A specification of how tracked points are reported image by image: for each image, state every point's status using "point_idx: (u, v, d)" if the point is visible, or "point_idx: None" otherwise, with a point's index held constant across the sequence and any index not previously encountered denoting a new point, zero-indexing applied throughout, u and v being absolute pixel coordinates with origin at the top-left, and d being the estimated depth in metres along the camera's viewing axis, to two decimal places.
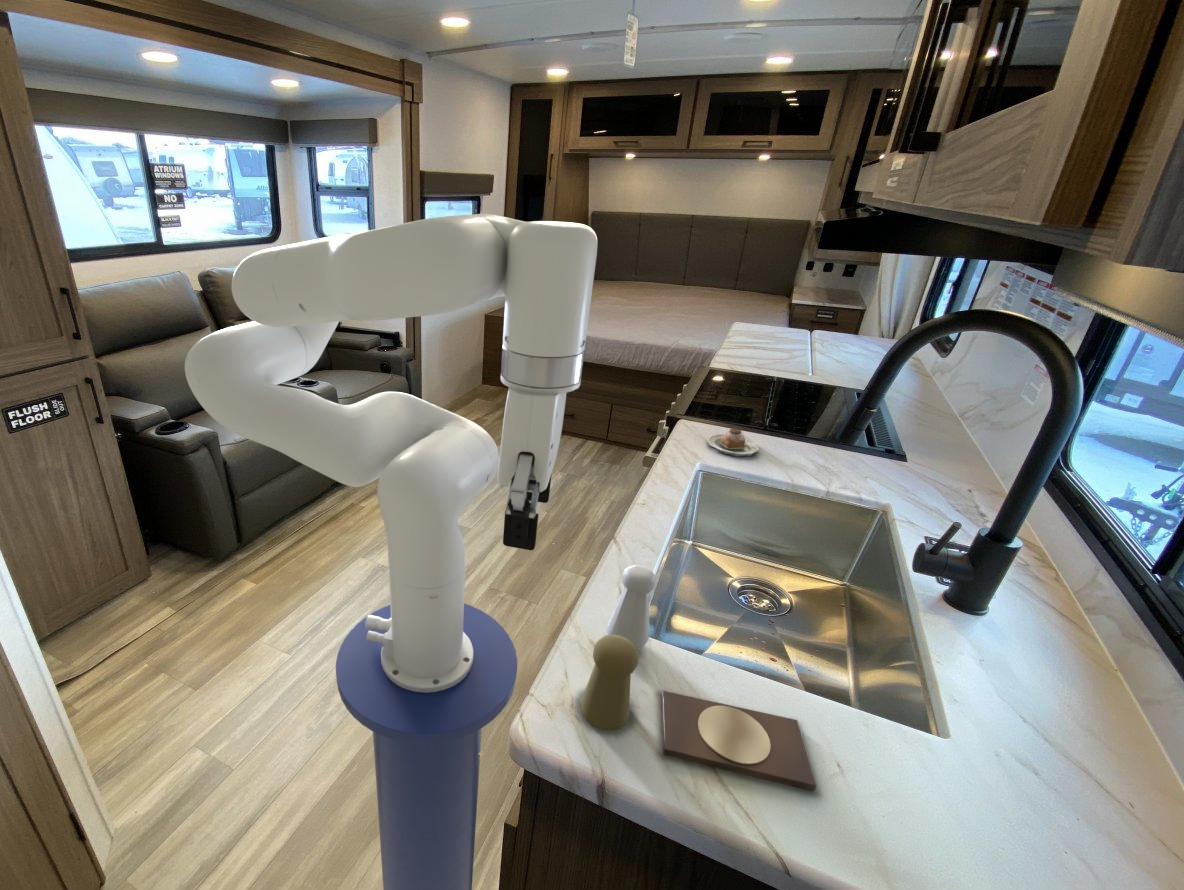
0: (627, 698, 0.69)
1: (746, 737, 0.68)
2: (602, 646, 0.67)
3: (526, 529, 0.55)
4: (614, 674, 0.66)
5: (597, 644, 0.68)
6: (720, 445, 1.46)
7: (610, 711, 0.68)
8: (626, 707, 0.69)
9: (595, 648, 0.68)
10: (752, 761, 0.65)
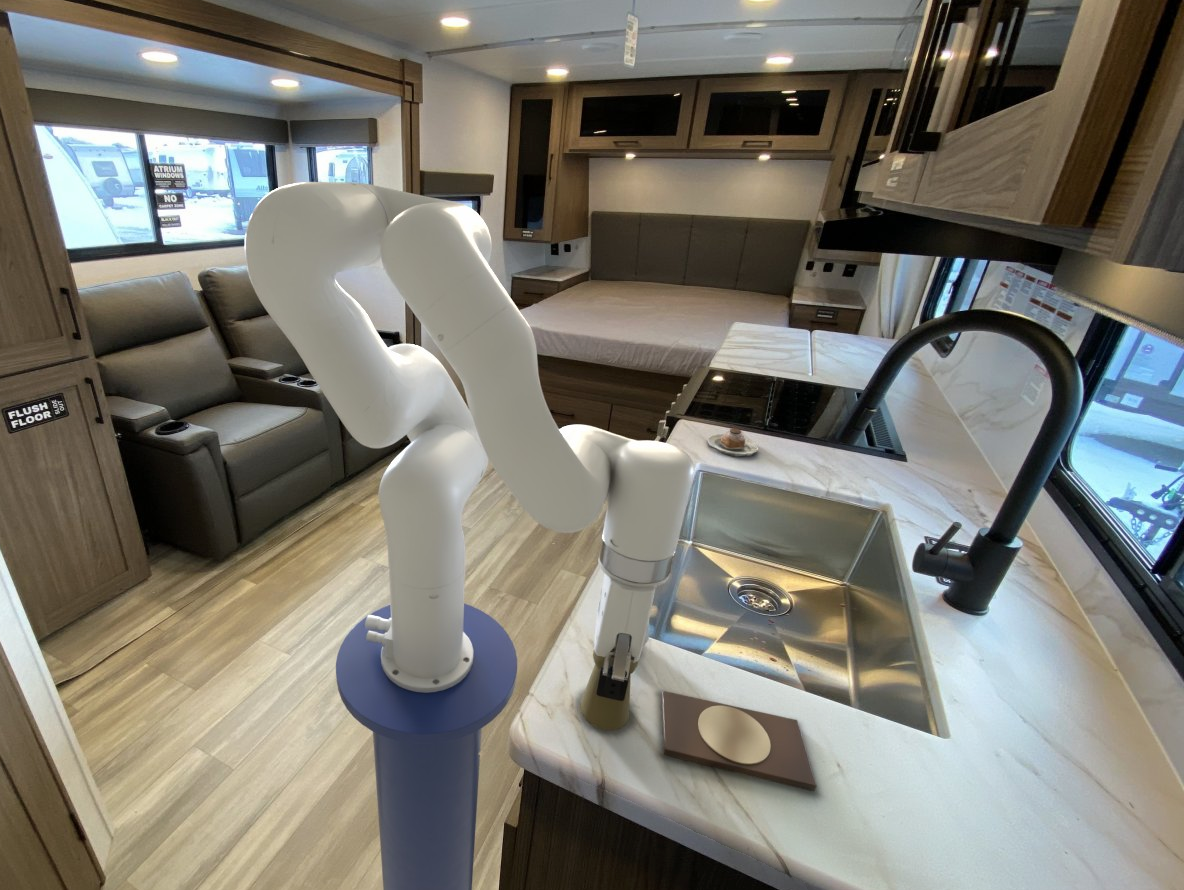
0: (627, 698, 0.69)
1: (746, 737, 0.68)
2: None
3: (619, 687, 0.65)
4: None
5: None
6: (720, 445, 1.46)
7: (610, 711, 0.68)
8: (626, 707, 0.69)
9: None
10: (752, 761, 0.65)
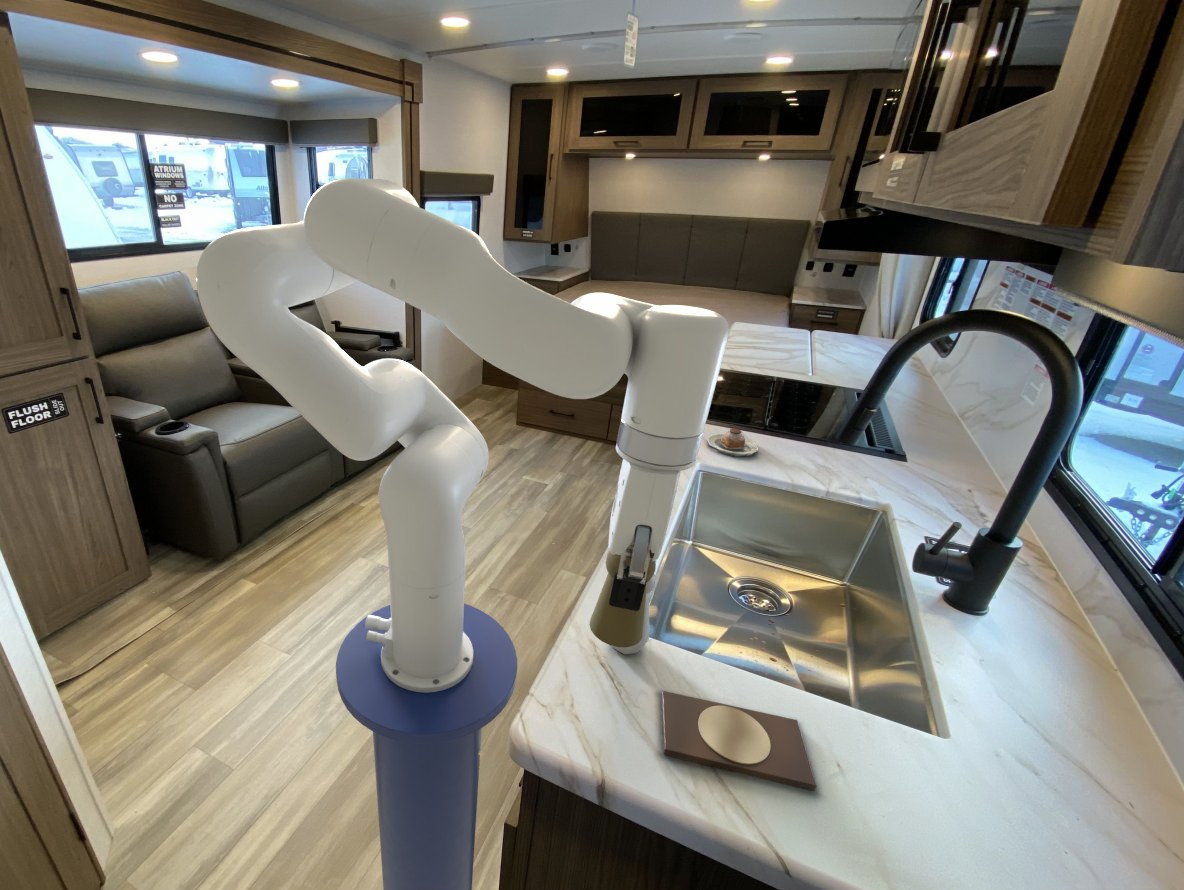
0: (642, 611, 0.63)
1: (746, 737, 0.68)
2: None
3: (635, 593, 0.59)
4: None
5: None
6: (720, 445, 1.46)
7: (623, 625, 0.62)
8: (640, 622, 0.63)
9: (608, 555, 0.62)
10: (752, 761, 0.65)
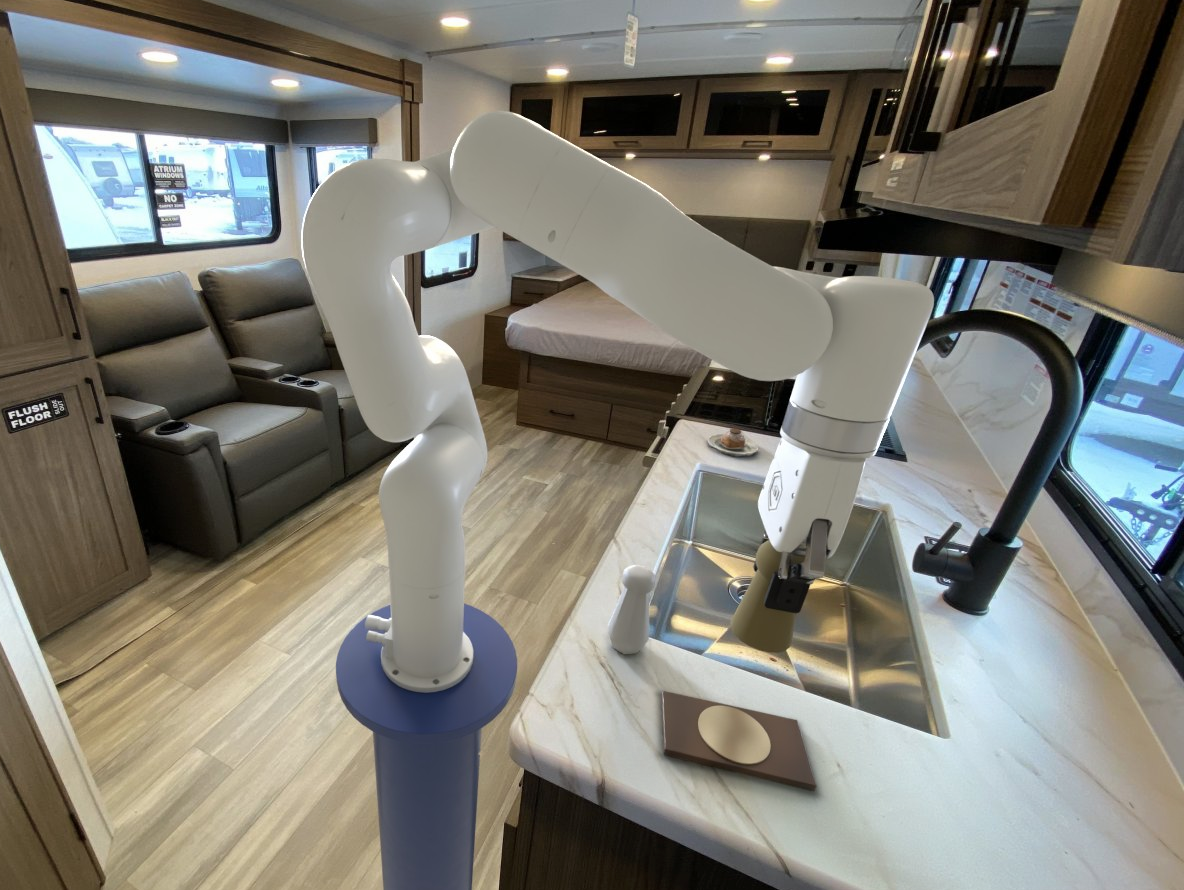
0: (796, 613, 0.58)
1: (746, 737, 0.68)
2: (772, 549, 0.56)
3: (799, 594, 0.54)
4: None
5: (763, 548, 0.57)
6: (720, 445, 1.46)
7: (776, 628, 0.58)
8: (793, 625, 0.58)
9: (761, 552, 0.57)
10: (752, 761, 0.65)
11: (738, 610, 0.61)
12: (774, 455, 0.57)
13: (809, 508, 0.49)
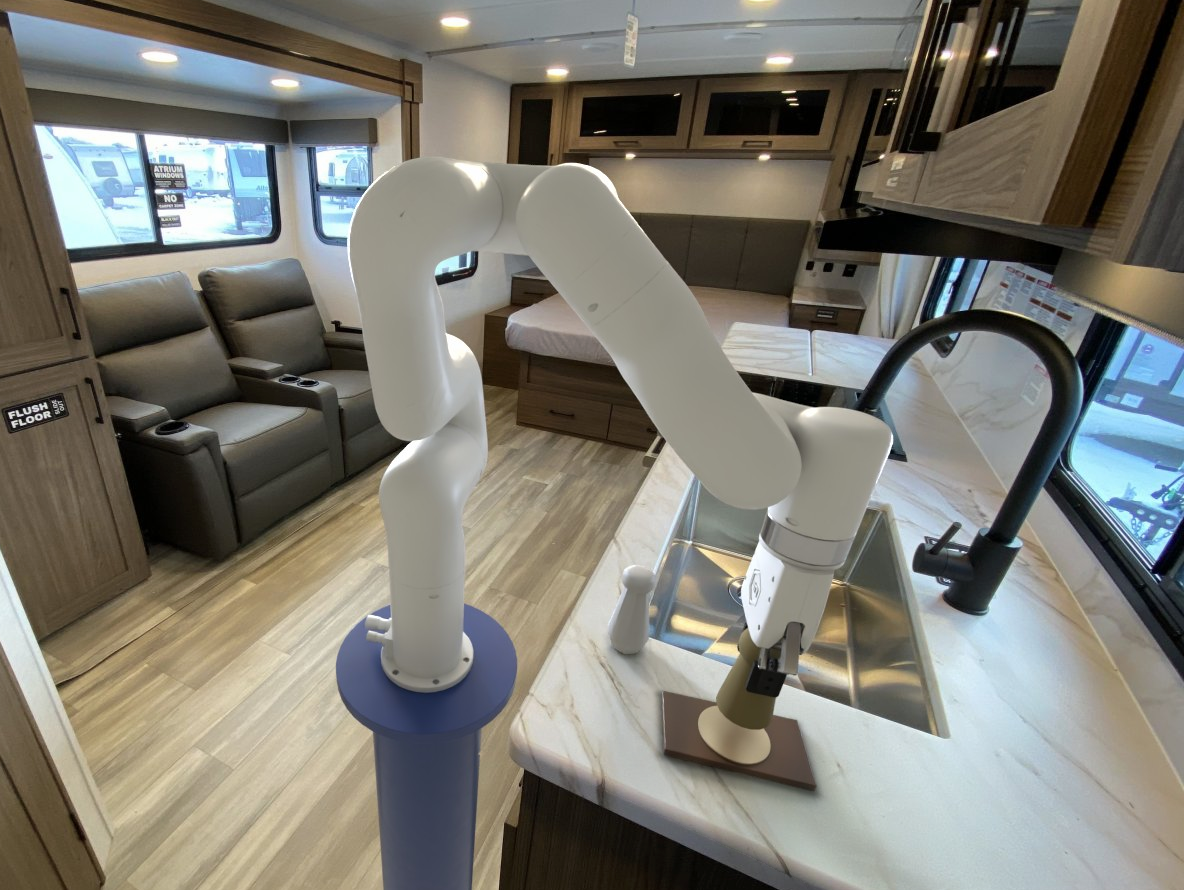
0: None
1: (746, 737, 0.68)
2: None
3: (777, 682, 0.59)
4: None
5: (745, 635, 0.62)
6: None
7: (757, 709, 0.63)
8: (773, 704, 0.63)
9: (743, 640, 0.62)
10: (752, 761, 0.65)
11: (723, 688, 0.66)
12: (755, 550, 0.62)
13: (784, 612, 0.54)
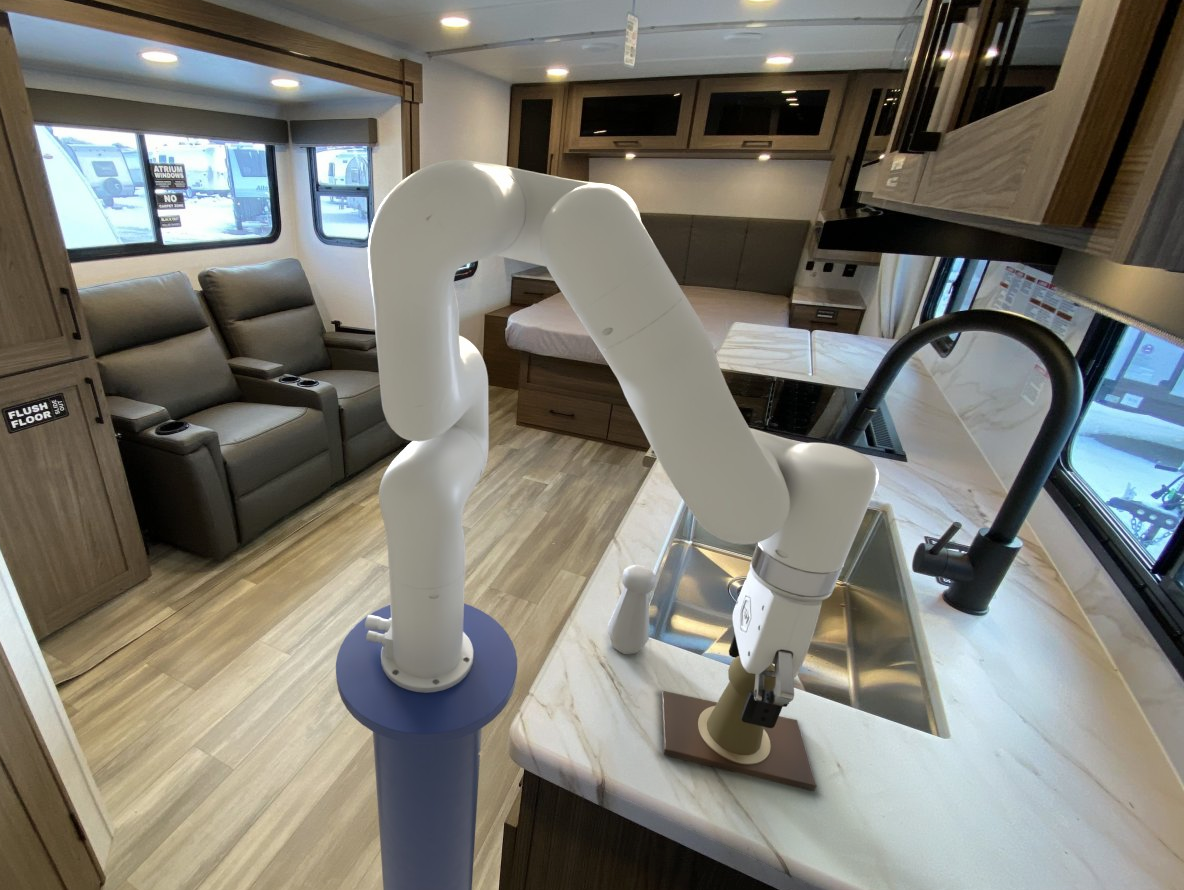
0: None
1: None
2: (742, 667, 0.63)
3: (773, 713, 0.58)
4: None
5: (734, 664, 0.64)
6: None
7: (746, 735, 0.65)
8: (762, 731, 0.65)
9: (732, 669, 0.64)
10: (752, 761, 0.65)
11: (713, 714, 0.68)
12: None
13: (773, 641, 0.56)
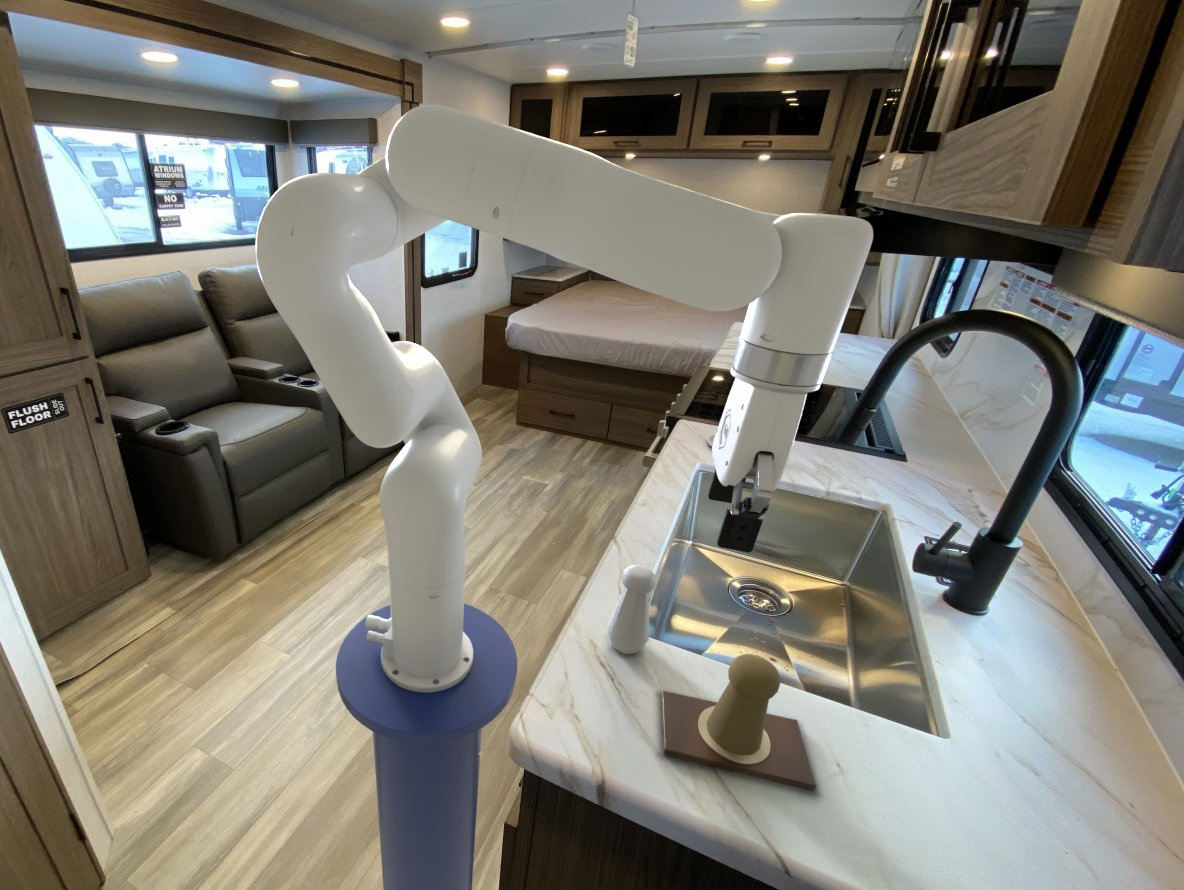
0: (764, 721, 0.65)
1: None
2: (742, 667, 0.63)
3: (751, 531, 0.53)
4: (756, 697, 0.62)
5: (734, 664, 0.64)
6: None
7: (746, 735, 0.65)
8: (762, 731, 0.65)
9: (732, 669, 0.64)
10: (752, 761, 0.65)
11: (713, 714, 0.68)
12: None
13: (752, 440, 0.51)
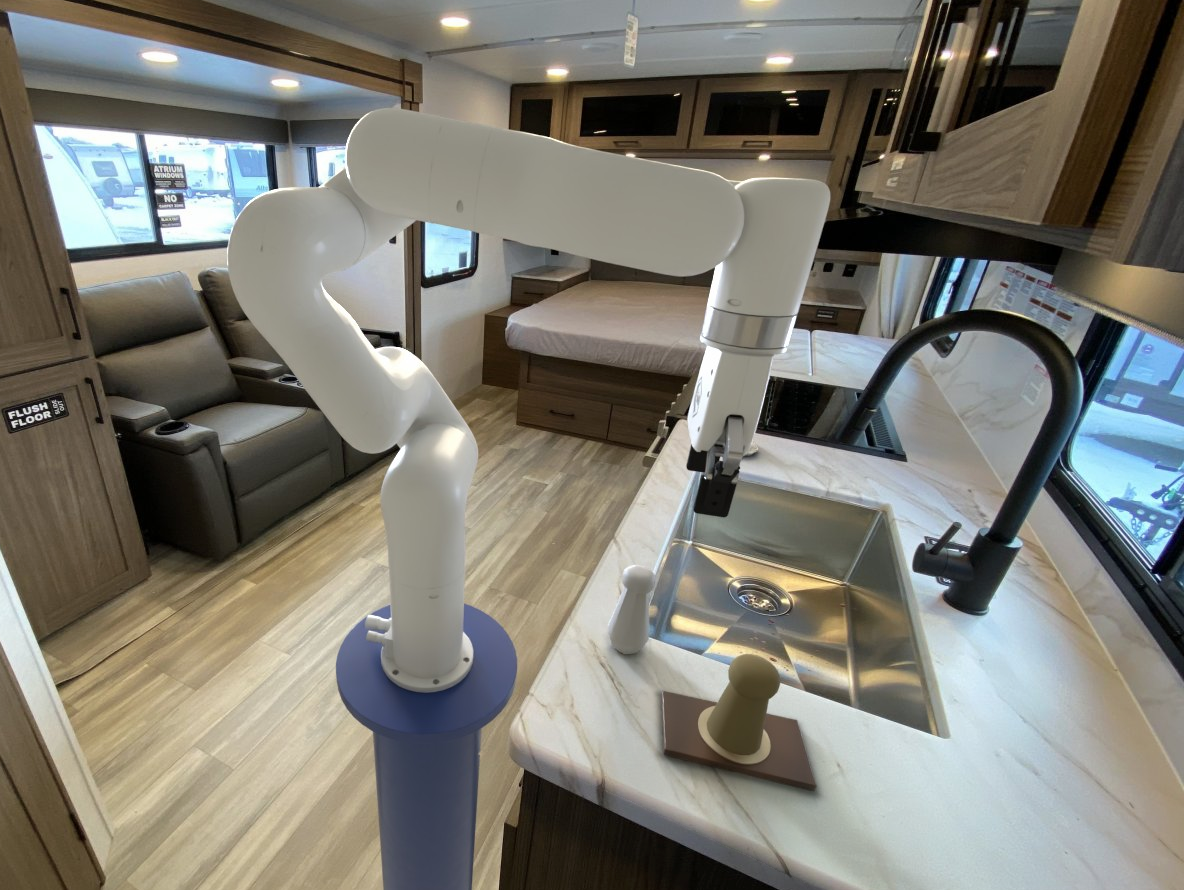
0: (764, 721, 0.65)
1: None
2: (742, 667, 0.63)
3: (725, 495, 0.54)
4: (756, 697, 0.62)
5: (734, 664, 0.64)
6: None
7: (746, 735, 0.65)
8: (762, 731, 0.65)
9: (732, 669, 0.64)
10: (752, 761, 0.65)
11: (713, 714, 0.68)
12: None
13: (722, 404, 0.51)
